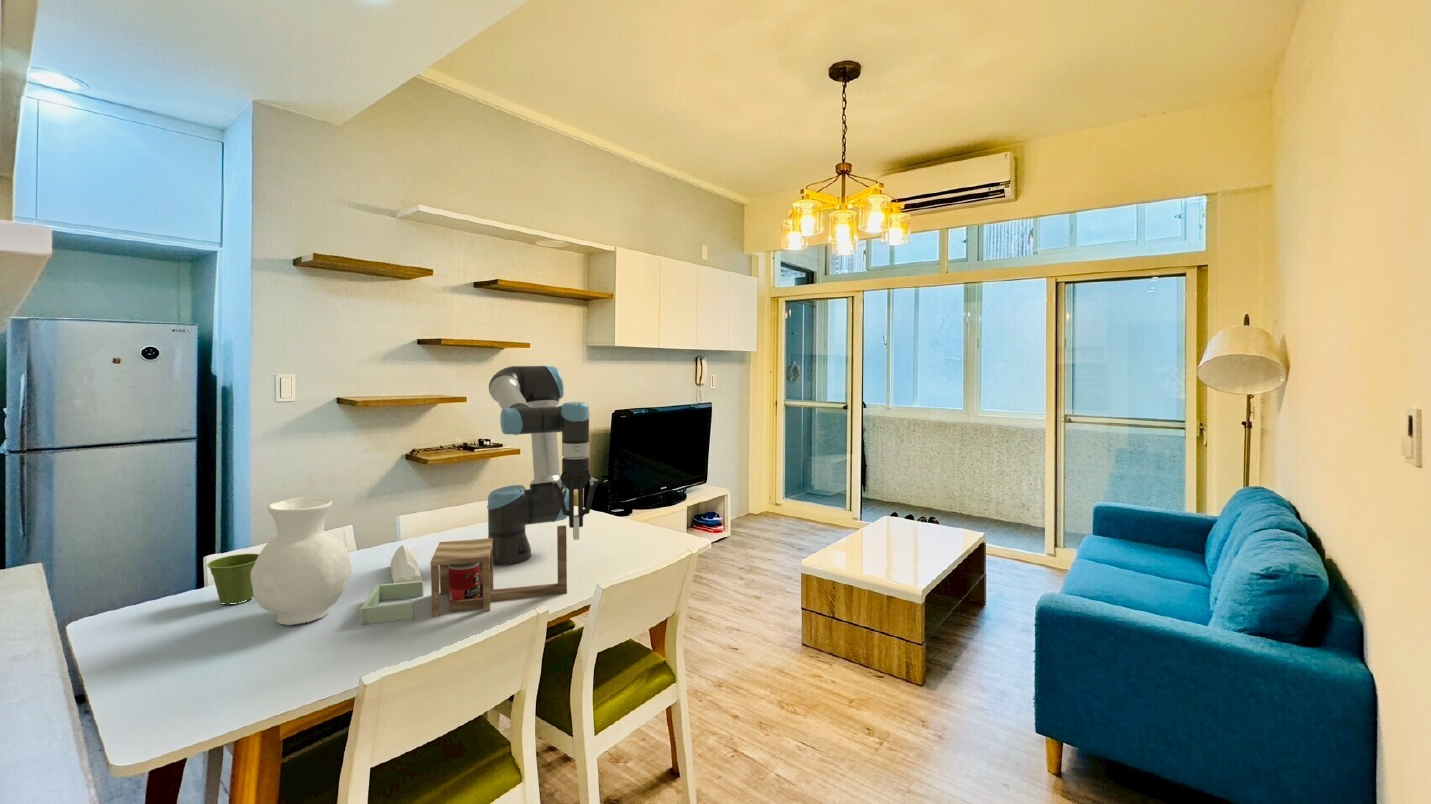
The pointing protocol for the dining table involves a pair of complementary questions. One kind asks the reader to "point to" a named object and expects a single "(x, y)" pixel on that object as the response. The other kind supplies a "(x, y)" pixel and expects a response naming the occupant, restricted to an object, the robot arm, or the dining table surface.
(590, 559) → the dining table surface
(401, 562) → the white faceted bar
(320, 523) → the vase
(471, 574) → the canned food
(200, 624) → the dining table surface
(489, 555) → the stool
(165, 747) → the dining table surface
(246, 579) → the plant pot
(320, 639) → the dining table surface
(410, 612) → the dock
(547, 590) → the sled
